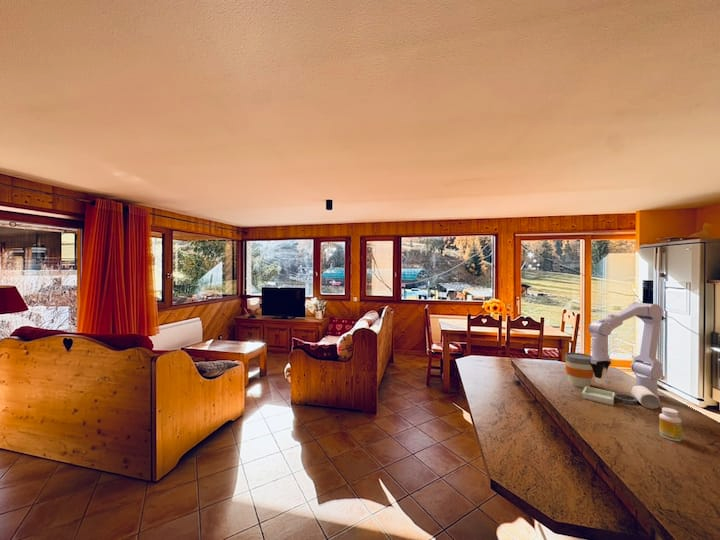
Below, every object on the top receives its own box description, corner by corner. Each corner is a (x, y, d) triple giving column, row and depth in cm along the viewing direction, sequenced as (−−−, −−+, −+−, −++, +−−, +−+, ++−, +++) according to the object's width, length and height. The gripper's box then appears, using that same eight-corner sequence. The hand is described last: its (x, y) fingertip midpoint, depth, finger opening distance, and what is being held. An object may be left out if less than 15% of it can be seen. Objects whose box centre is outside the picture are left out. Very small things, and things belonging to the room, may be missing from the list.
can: (663, 407, 122) (651, 396, 133) (656, 392, 123) (644, 382, 134) (644, 410, 125) (634, 399, 135) (637, 395, 126) (627, 385, 136)
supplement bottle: (678, 443, 99) (677, 415, 99) (656, 435, 104) (656, 408, 104) (684, 438, 102) (683, 411, 102) (662, 431, 107) (662, 405, 107)
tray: (585, 391, 143) (585, 386, 143) (615, 397, 135) (614, 392, 135) (581, 398, 135) (581, 392, 135) (613, 405, 127) (613, 400, 127)
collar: (613, 394, 138) (613, 391, 138) (638, 400, 132) (637, 396, 132) (612, 400, 132) (612, 397, 132) (637, 406, 126) (637, 402, 126)
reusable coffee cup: (592, 382, 153) (592, 354, 153) (596, 391, 142) (596, 360, 142) (564, 378, 160) (563, 351, 160) (565, 385, 149) (565, 356, 149)
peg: (593, 381, 136) (593, 364, 136) (600, 380, 137) (600, 364, 137) (601, 384, 132) (601, 367, 132) (608, 384, 133) (608, 367, 133)
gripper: (603, 351, 128) (604, 382, 127) (617, 347, 135) (617, 376, 135) (585, 348, 134) (585, 377, 134) (599, 344, 141) (599, 372, 141)
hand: (600, 376), depth 135 cm, fingers closed on peg, 4 cm apart
